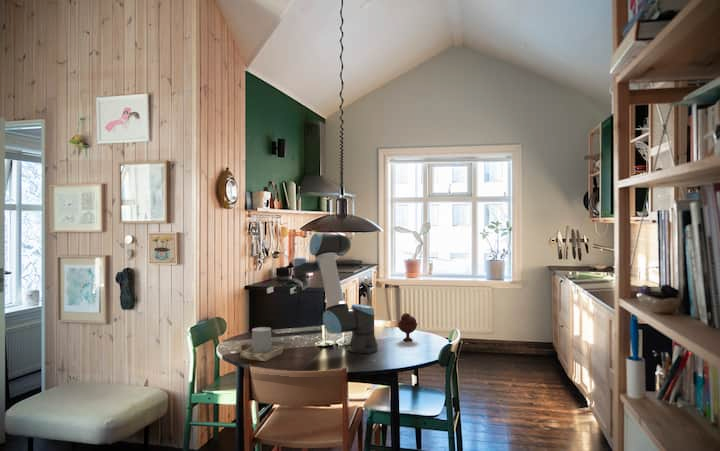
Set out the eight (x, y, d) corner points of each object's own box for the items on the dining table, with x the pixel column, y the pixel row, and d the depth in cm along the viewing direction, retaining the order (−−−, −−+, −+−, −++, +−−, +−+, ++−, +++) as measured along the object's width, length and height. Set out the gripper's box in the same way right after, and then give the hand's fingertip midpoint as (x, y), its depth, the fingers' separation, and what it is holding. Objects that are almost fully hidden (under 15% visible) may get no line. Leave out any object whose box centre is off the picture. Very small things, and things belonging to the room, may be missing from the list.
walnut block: (251, 350, 253) (251, 343, 253) (248, 352, 249) (248, 345, 249) (244, 350, 253) (243, 343, 253) (241, 352, 249) (241, 345, 249)
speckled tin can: (267, 356, 238) (266, 331, 238) (249, 355, 240) (248, 331, 240) (274, 351, 247) (274, 327, 247) (256, 350, 249) (256, 326, 249)
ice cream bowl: (396, 342, 266) (396, 315, 266) (400, 337, 277) (399, 311, 277) (416, 343, 263) (415, 315, 263) (418, 338, 274) (418, 312, 274)
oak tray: (282, 353, 247) (282, 347, 247) (265, 361, 233) (265, 355, 233) (258, 350, 253) (258, 344, 253) (240, 357, 240) (240, 351, 240)
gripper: (314, 292, 279) (300, 298, 259) (274, 292, 286) (258, 297, 265) (314, 279, 279) (300, 284, 259) (274, 279, 286) (258, 283, 265)
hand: (279, 291), depth 262 cm, fingers open, 13 cm apart
